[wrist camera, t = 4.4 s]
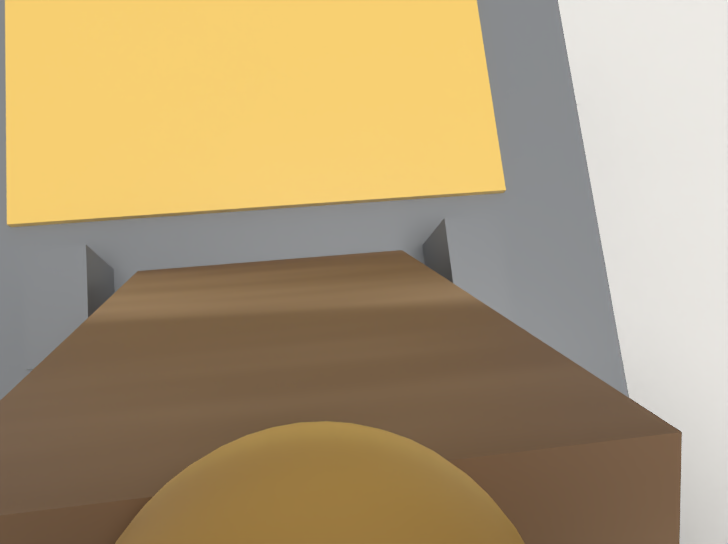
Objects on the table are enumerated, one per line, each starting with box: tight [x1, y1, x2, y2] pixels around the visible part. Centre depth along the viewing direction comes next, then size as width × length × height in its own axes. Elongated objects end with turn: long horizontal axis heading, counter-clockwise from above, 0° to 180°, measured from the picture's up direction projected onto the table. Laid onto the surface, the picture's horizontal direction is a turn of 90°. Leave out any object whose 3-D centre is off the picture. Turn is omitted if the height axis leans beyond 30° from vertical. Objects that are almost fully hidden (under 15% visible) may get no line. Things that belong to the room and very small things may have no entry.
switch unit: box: [0, 0, 629, 400], centre depth 14 cm, size 13×14×5 cm
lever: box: [0, 250, 682, 544], centre depth 8 cm, size 3×5×11 cm, turn 96°
